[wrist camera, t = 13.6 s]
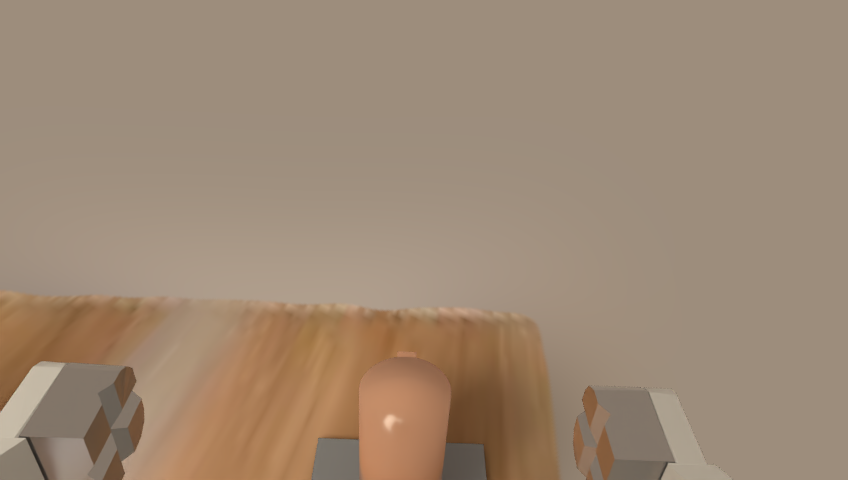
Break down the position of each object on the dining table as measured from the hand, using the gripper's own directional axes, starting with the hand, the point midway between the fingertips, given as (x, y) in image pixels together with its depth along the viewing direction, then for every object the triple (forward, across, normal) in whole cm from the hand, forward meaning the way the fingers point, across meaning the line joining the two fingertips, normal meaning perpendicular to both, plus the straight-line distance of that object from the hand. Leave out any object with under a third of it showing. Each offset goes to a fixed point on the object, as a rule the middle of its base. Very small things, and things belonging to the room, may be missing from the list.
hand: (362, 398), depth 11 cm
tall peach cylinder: (+17, -1, +29) cm, 34 cm away
